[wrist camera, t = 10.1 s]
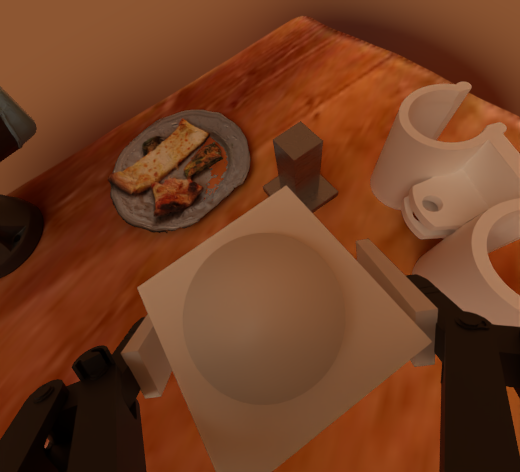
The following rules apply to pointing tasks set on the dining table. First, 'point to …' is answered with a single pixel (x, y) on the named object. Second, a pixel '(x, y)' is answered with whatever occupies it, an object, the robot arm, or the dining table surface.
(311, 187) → the post
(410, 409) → the dining table surface
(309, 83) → the dining table surface
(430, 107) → the bracket
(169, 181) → the food plate
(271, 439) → the beige block piece
